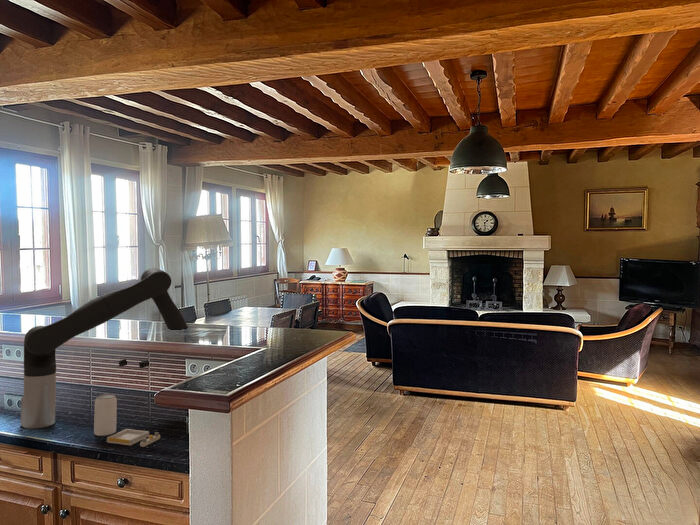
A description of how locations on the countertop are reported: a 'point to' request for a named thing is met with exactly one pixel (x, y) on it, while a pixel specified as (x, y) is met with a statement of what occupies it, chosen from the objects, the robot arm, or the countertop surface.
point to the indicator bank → (150, 439)
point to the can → (105, 415)
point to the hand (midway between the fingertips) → (129, 364)
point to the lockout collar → (128, 437)
